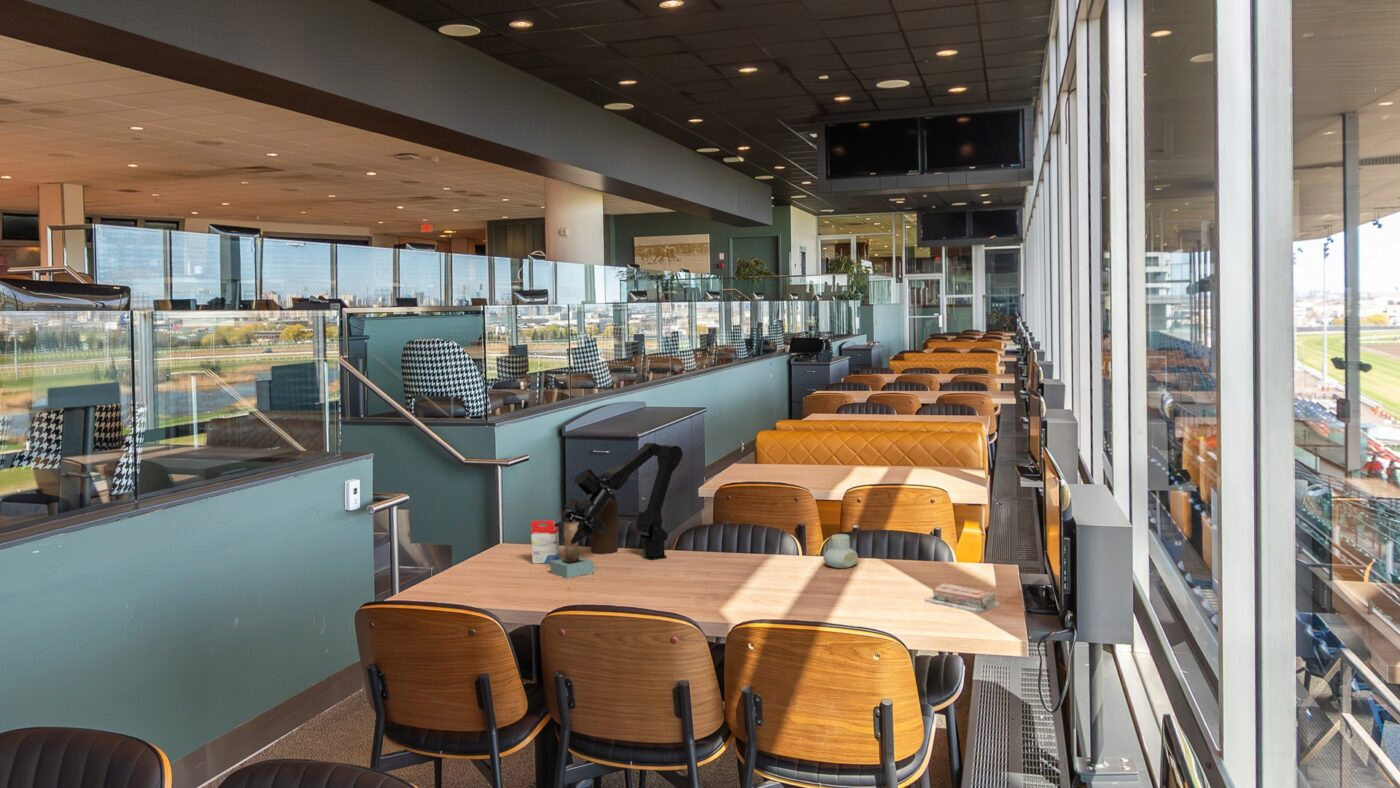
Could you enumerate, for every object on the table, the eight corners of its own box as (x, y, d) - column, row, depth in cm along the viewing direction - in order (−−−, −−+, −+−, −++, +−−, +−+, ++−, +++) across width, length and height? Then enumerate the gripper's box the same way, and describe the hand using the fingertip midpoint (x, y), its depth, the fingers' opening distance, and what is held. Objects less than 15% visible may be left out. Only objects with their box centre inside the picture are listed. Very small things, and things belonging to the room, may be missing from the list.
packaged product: (1000, 590, 289) (979, 597, 283) (1000, 607, 290) (979, 615, 283) (945, 579, 303) (923, 586, 296) (945, 596, 303) (924, 603, 296)
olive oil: (625, 551, 374) (623, 480, 373) (599, 555, 368) (597, 484, 366) (609, 546, 383) (606, 477, 381) (583, 551, 376) (581, 481, 375)
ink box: (560, 560, 362) (558, 517, 362) (556, 563, 358) (555, 520, 357) (535, 560, 363) (533, 518, 362) (531, 564, 358) (530, 520, 358)
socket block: (577, 568, 350) (576, 556, 350) (593, 573, 342) (593, 561, 342) (550, 573, 344) (550, 561, 343) (567, 578, 336) (566, 566, 335)
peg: (579, 560, 345) (578, 521, 344) (578, 563, 340) (576, 524, 339) (566, 560, 345) (564, 522, 344) (564, 563, 340) (562, 524, 340)
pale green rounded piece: (839, 571, 335) (838, 540, 335) (819, 567, 341) (819, 536, 341) (862, 565, 342) (861, 534, 342) (842, 561, 349) (841, 531, 348)
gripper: (564, 485, 351) (536, 523, 345) (595, 491, 336) (567, 531, 330) (586, 506, 356) (558, 543, 350) (617, 512, 342) (589, 552, 335)
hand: (567, 542), depth 341 cm, fingers closed on peg, 4 cm apart
